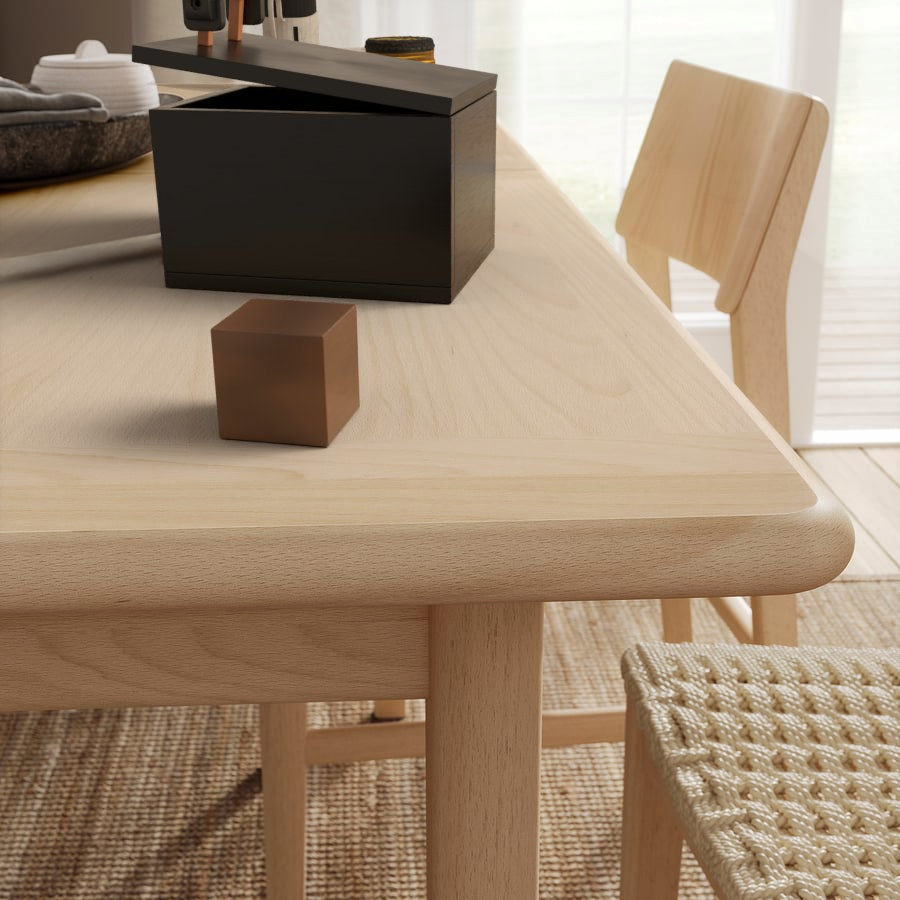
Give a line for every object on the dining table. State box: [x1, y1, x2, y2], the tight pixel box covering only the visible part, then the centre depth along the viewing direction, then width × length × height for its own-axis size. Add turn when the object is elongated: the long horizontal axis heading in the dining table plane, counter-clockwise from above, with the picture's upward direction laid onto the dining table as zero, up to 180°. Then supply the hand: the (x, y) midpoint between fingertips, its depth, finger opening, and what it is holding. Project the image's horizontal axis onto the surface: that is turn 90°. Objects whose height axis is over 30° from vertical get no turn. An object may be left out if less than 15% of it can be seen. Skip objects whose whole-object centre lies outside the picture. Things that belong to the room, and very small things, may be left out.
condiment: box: [363, 35, 436, 64], centre depth 90 cm, size 7×8×12 cm
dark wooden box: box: [148, 84, 498, 305], centre depth 70 cm, size 17×14×10 cm
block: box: [210, 297, 361, 448], centre depth 47 cm, size 4×4×4 cm
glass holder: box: [261, 0, 320, 45], centre depth 162 cm, size 9×14×15 cm, turn 172°
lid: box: [131, 0, 499, 116], centre depth 66 cm, size 18×14×5 cm
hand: (226, 26), depth 68 cm, fingers closed on lid, 5 cm apart
